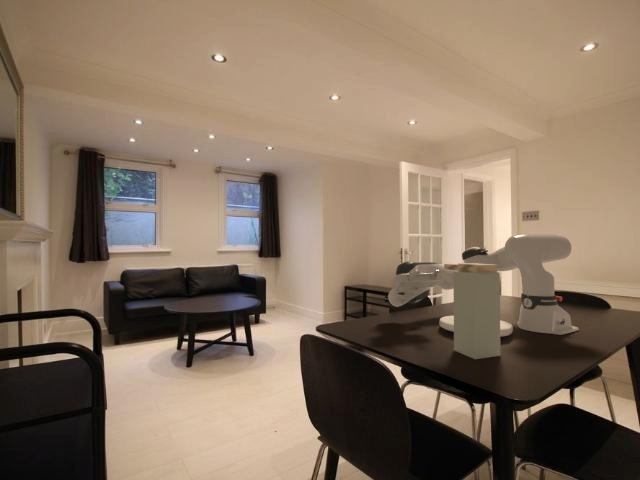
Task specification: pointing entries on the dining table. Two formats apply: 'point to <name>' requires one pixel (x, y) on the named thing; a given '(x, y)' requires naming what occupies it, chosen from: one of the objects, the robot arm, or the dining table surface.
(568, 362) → the dining table surface
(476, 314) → the shelf block
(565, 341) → the dining table surface
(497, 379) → the dining table surface
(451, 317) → the plate
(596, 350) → the dining table surface
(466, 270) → the wooden paddle
